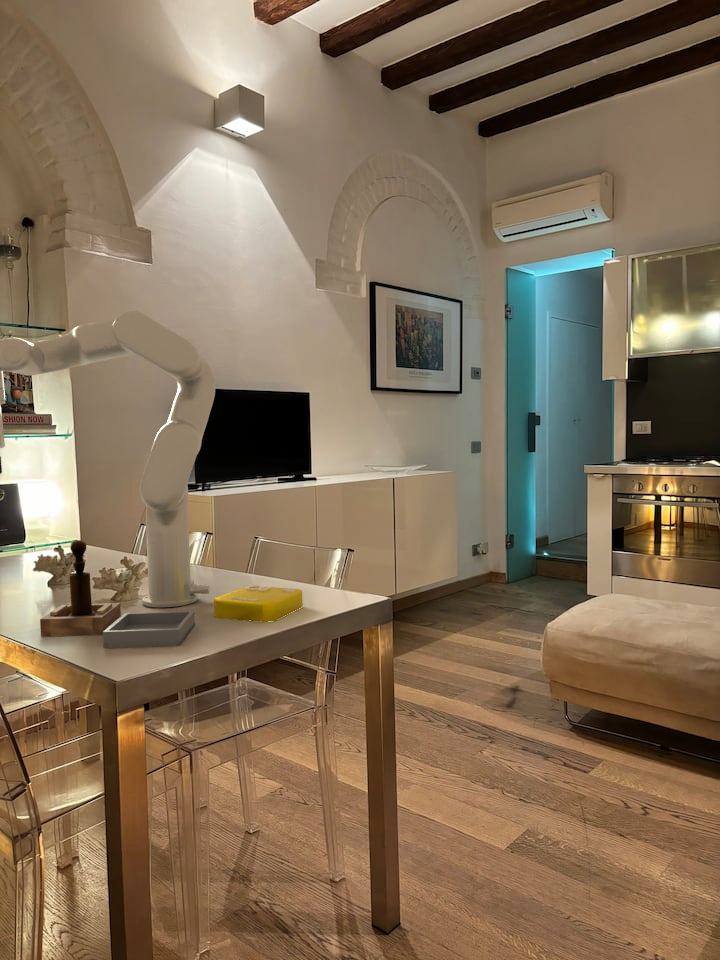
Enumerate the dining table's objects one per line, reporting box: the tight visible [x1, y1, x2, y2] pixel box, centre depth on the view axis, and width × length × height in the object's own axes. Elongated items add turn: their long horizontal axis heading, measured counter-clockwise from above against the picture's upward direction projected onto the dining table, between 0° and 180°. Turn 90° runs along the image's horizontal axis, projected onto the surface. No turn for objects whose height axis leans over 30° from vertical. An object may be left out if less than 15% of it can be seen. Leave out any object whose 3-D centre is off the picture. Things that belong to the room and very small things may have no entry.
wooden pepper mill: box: [68, 539, 97, 617], centre depth 149 cm, size 7×6×18 cm
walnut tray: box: [39, 602, 122, 638], centre depth 149 cm, size 12×12×4 cm
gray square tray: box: [102, 610, 196, 649], centre depth 141 cm, size 14×14×3 cm
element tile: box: [213, 584, 304, 623], centre depth 159 cm, size 15×15×5 cm
